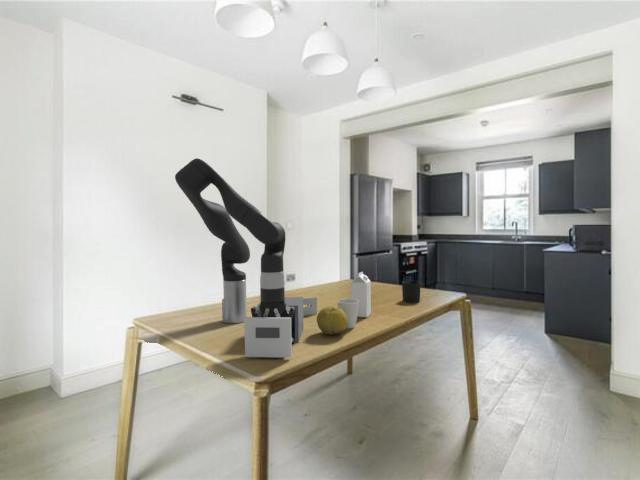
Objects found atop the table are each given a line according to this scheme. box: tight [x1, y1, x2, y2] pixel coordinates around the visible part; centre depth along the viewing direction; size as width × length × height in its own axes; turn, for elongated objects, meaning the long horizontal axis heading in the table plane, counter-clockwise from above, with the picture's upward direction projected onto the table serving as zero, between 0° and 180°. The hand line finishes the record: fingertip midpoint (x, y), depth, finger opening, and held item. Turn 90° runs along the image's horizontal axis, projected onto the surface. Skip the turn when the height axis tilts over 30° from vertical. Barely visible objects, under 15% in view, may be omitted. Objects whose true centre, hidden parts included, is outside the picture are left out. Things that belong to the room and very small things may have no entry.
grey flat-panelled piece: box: [243, 316, 293, 358], centre depth 110 cm, size 14×15×11 cm
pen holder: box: [401, 280, 421, 303], centre depth 185 cm, size 9×9×10 cm
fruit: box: [316, 305, 348, 335], centre depth 128 cm, size 11×12×10 cm
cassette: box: [303, 296, 318, 317], centre depth 157 cm, size 12×2×8 cm, turn 113°
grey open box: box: [256, 296, 304, 343], centre depth 127 cm, size 14×15×12 cm
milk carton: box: [350, 271, 372, 318], centre depth 155 cm, size 7×7×19 cm
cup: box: [337, 298, 358, 329], centre depth 137 cm, size 8×8×10 cm
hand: (273, 339), depth 111 cm, fingers closed on block, 5 cm apart
